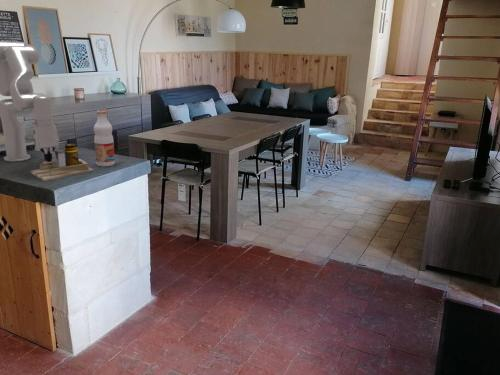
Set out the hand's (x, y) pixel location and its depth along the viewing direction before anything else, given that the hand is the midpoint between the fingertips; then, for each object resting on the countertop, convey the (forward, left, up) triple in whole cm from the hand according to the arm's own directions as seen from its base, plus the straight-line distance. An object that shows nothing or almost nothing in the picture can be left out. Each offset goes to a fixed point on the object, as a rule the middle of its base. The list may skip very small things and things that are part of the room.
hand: (48, 161), depth 204 cm
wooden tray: (0, +6, -7) cm, 9 cm away
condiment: (0, +10, -6) cm, 12 cm away
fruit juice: (-1, +29, -7) cm, 30 cm away
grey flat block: (0, +4, -5) cm, 7 cm away
